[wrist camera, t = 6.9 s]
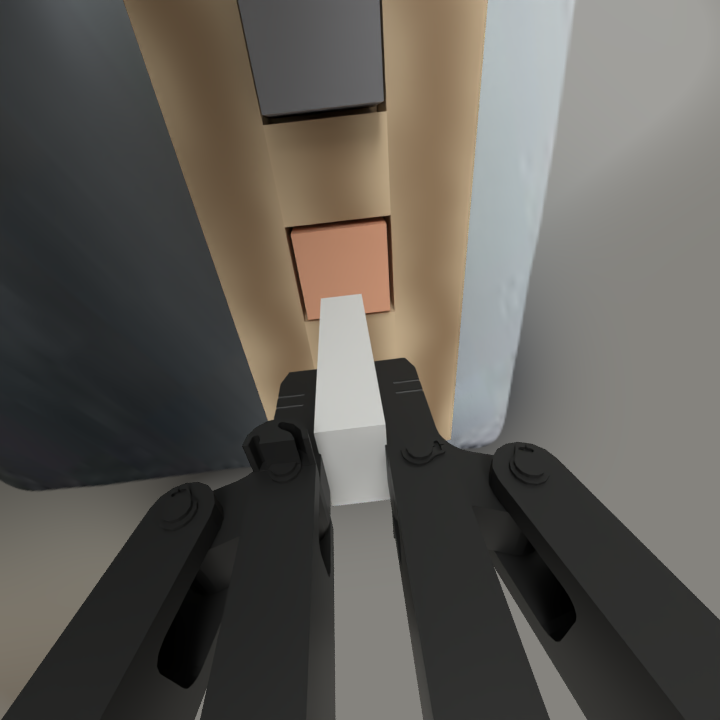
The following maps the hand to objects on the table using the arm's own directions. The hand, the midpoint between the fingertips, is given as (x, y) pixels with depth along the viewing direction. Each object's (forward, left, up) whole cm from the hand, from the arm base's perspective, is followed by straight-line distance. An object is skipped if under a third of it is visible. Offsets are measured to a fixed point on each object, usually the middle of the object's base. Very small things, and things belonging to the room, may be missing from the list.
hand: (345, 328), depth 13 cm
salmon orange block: (0, 0, -11) cm, 11 cm away
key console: (0, 0, -12) cm, 12 cm away
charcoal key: (0, +10, -10) cm, 14 cm away
